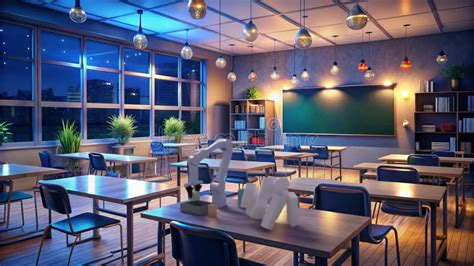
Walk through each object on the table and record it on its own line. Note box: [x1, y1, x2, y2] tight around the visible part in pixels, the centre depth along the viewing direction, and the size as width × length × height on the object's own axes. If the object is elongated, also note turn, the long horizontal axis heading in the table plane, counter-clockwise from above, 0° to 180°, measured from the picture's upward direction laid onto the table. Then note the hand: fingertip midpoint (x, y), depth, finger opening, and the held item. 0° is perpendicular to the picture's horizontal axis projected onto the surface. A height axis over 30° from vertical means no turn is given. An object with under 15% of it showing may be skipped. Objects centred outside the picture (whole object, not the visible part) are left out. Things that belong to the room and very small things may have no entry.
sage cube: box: [187, 190, 201, 201], centre depth 229 cm, size 5×5×5 cm
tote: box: [179, 199, 217, 217], centre depth 227 cm, size 14×18×5 cm
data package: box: [237, 187, 246, 210], centre depth 235 cm, size 12×4×12 cm, turn 50°
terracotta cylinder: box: [207, 204, 218, 219], centre depth 214 cm, size 5×5×7 cm
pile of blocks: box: [241, 175, 300, 231], centre depth 198 cm, size 35×30×35 cm
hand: (193, 197), depth 229 cm, fingers closed on sage cube, 5 cm apart
